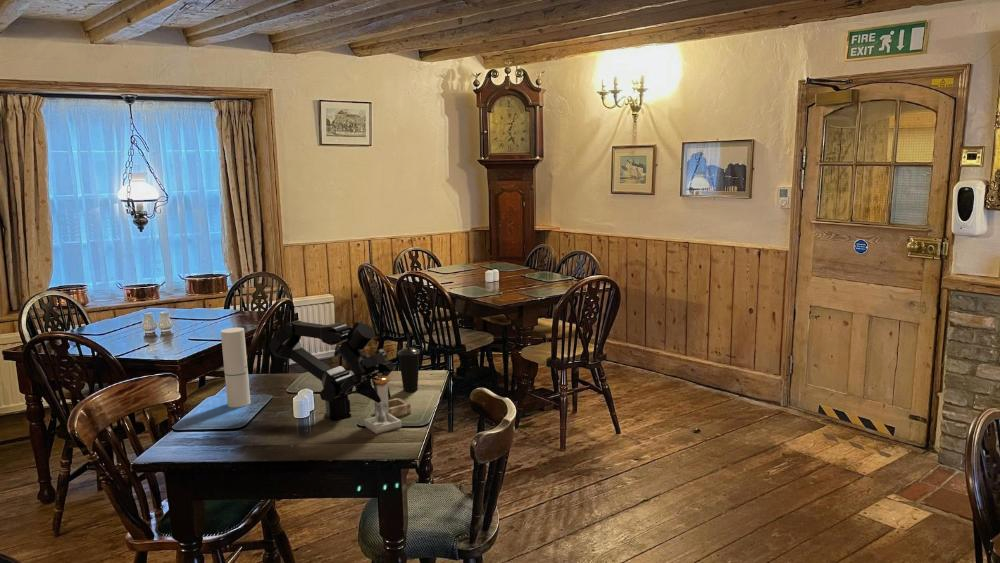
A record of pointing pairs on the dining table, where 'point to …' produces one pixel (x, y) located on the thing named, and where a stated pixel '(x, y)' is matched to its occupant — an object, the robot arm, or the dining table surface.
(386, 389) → the copper-capped peg
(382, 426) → the tray
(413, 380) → the drinking cup
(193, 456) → the dining table surface
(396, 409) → the socket block
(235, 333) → the cylindrical container
